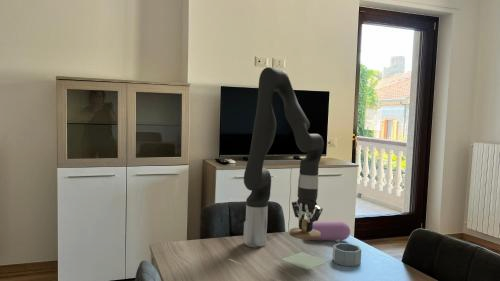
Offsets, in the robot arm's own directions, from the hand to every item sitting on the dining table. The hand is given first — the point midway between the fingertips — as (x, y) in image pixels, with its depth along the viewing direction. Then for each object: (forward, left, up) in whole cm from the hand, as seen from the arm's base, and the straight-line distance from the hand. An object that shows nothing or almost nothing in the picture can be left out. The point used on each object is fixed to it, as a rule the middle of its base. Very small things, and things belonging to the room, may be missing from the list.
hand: (305, 230), depth 157 cm
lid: (0, 0, -2) cm, 2 cm away
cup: (+11, +12, -12) cm, 21 cm away
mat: (0, 0, -12) cm, 12 cm away
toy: (-10, +29, -13) cm, 33 cm away
